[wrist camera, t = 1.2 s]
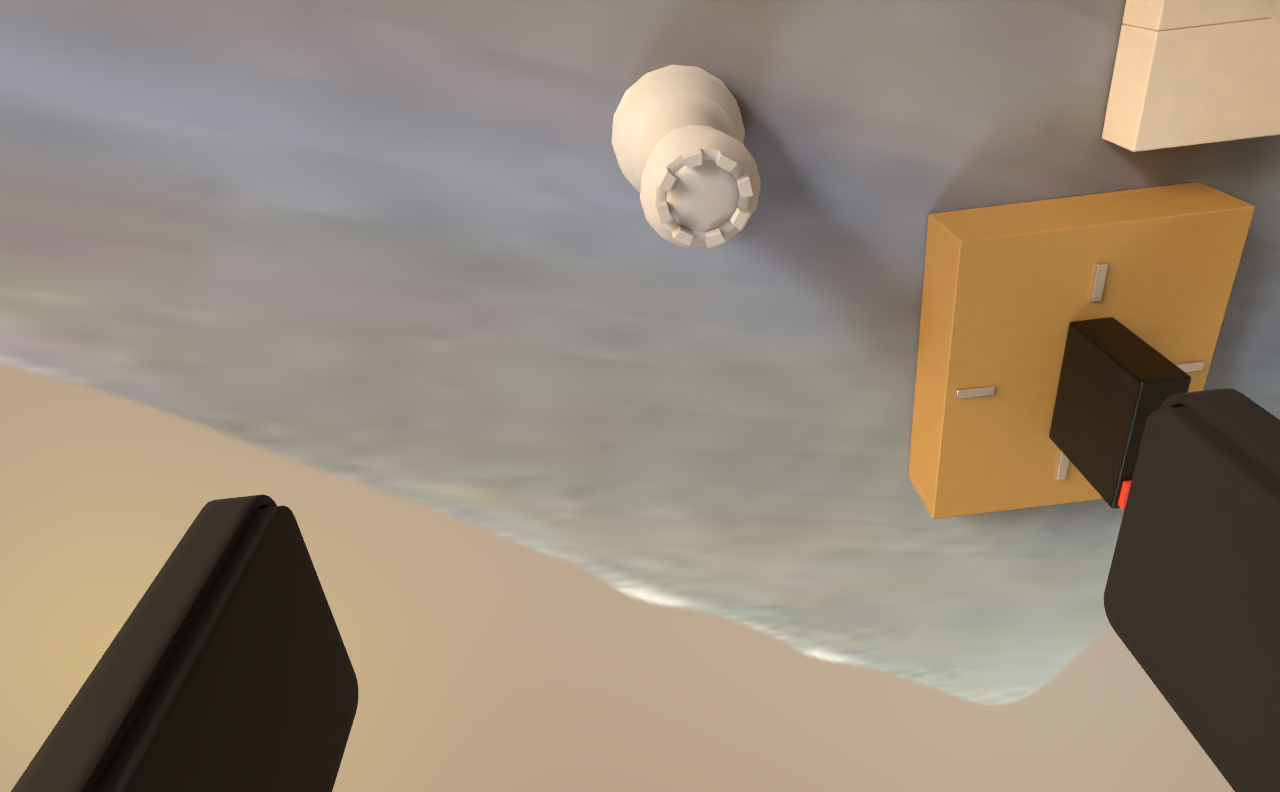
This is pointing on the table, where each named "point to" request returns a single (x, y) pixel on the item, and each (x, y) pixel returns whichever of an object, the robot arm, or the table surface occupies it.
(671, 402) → the table surface
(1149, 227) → the orange dial base
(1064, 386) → the black battery pack
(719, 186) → the rook chess piece
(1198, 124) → the white socket plate
